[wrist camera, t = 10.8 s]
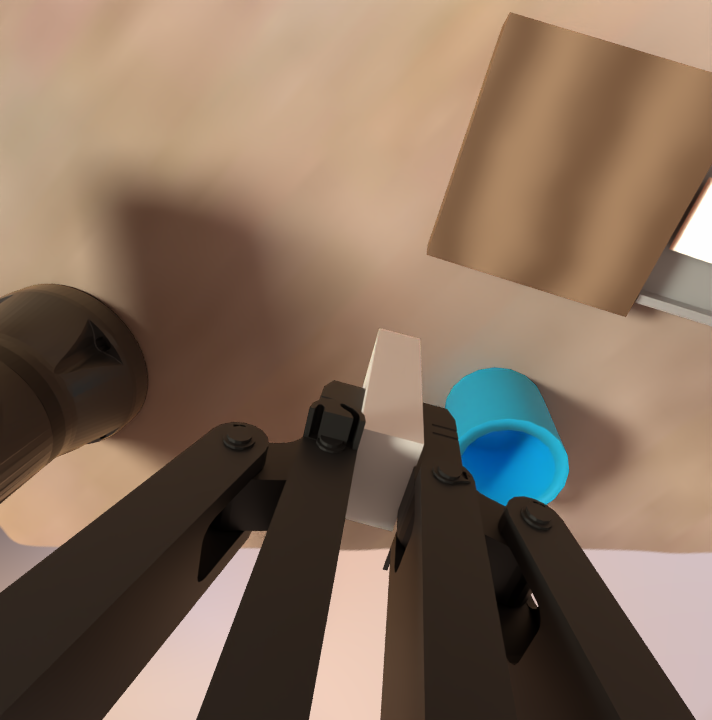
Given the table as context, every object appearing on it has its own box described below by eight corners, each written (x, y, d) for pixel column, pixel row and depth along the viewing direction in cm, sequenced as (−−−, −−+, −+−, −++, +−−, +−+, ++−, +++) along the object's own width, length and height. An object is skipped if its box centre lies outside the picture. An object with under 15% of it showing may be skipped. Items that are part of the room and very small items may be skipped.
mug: (431, 384, 40) (429, 437, 33) (529, 354, 38) (551, 404, 30) (475, 494, 44) (483, 563, 37) (566, 473, 42) (594, 543, 34)
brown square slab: (427, 245, 36) (426, 254, 32) (502, 26, 30) (510, 12, 26) (608, 301, 35) (625, 317, 32) (721, 92, 29) (756, 85, 26)
